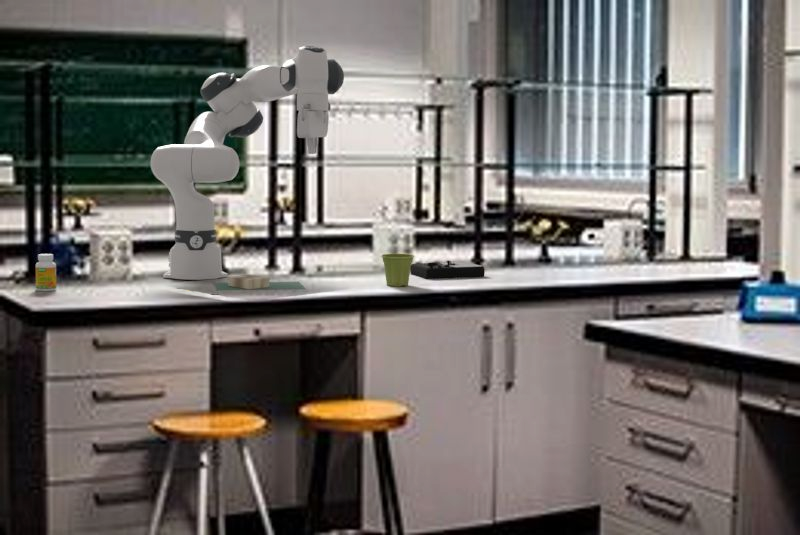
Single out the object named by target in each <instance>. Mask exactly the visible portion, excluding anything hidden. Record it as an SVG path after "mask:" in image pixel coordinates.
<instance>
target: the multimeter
mask: <svg viewBox="0 0 800 535" xmlns="http://www.w3.org/2000/svg"><path fill="white" fill-rule="evenodd" d="M410 275H411V276H415V277H418V278H422V279H425V280H445V279H469V278H470V279H471V278H485V267H484V266H483V265H480V264H476V263H473V262H469V261H468V262H467V261H453V262H452V261H450V260H446V262H433V261H431V262H427V263H425V262H424V263H411V269H410Z"/></svg>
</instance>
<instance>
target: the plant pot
mask: <svg viewBox="0 0 800 535" xmlns="http://www.w3.org/2000/svg"><path fill="white" fill-rule="evenodd" d="M380 256H381V258H382V262H383V267H384V274H385V280H386V281H385V283H386V286H389V287H397V288H399V287H407V286H409V281H410V275H411V271H410V269H411V264H413V259H414V257H415V255H414V254H412V253H411V254H409V253H384V254H381V255H380Z"/></svg>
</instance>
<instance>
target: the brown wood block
mask: <svg viewBox="0 0 800 535" xmlns="http://www.w3.org/2000/svg"><path fill="white" fill-rule="evenodd" d="M227 278H228V279H227V282H228V286H230V287H236V288H242V289H249V290H248V291H252V290H251V289H260V288H267V287H269V282H270V277H267V276H266V277H265V276H262V275H261V276H260V275H252V274H241V275H233V276H232V275H231V276H228V277H227Z"/></svg>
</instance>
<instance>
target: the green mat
mask: <svg viewBox="0 0 800 535" xmlns="http://www.w3.org/2000/svg"><path fill="white" fill-rule="evenodd" d="M213 286H214V288H215V290H216V291H266V290H267V291H268V290H269V291H270V290H271V291H273V290H274V291H279V290H282V291H283V290H284V291H285V290H291V291H292V290H306V288H305V287H304V285H303V284H302V283H301V282H300V281H269V287H267V288H260V289H251V290H249V289H242V288H236V287H230V286H228V281H227V282H226V281H225V282H224V281H223V282H213ZM216 295H217V296H219V294H216Z"/></svg>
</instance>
